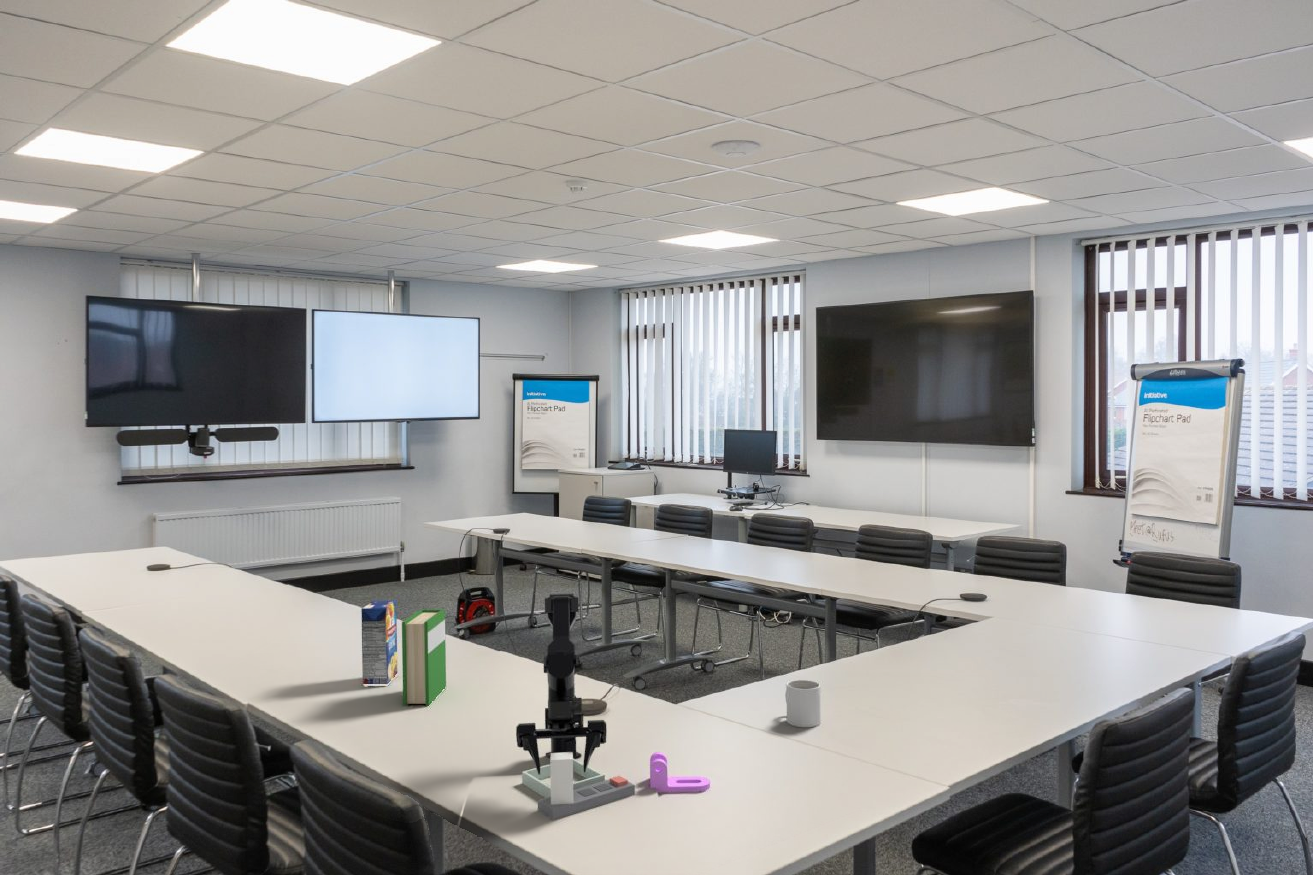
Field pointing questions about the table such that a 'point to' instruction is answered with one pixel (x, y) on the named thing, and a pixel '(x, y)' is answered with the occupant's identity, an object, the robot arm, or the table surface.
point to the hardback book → (423, 656)
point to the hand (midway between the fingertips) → (561, 772)
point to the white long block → (561, 778)
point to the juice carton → (379, 642)
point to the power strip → (589, 797)
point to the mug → (803, 703)
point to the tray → (533, 779)
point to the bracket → (673, 778)
